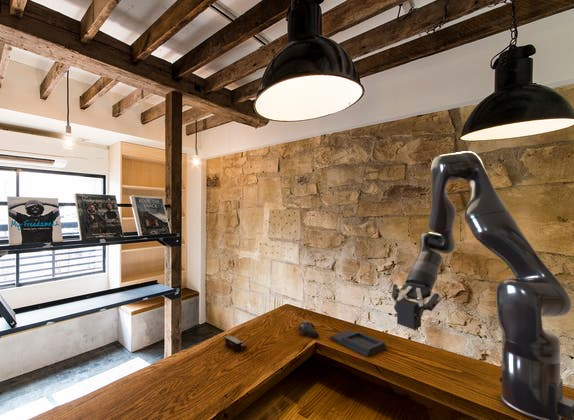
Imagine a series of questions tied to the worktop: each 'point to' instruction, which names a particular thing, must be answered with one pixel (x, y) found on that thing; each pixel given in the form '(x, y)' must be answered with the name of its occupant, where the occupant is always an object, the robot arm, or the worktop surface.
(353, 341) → the pad
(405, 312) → the dark grey rectangular block
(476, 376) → the worktop surface
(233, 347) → the wireless earbuds
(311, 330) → the game controller
